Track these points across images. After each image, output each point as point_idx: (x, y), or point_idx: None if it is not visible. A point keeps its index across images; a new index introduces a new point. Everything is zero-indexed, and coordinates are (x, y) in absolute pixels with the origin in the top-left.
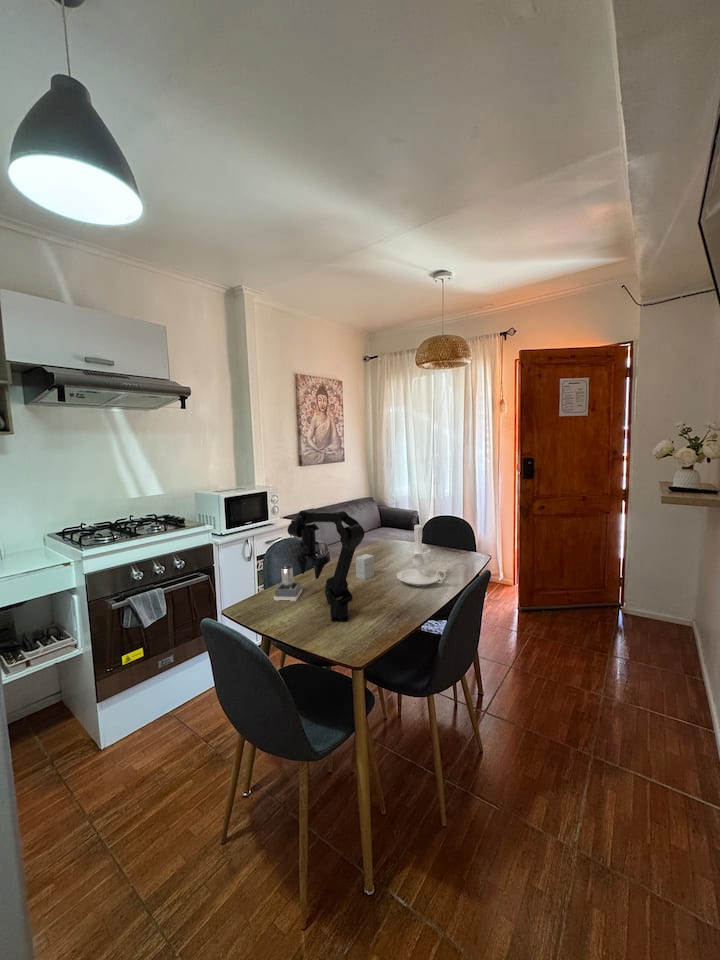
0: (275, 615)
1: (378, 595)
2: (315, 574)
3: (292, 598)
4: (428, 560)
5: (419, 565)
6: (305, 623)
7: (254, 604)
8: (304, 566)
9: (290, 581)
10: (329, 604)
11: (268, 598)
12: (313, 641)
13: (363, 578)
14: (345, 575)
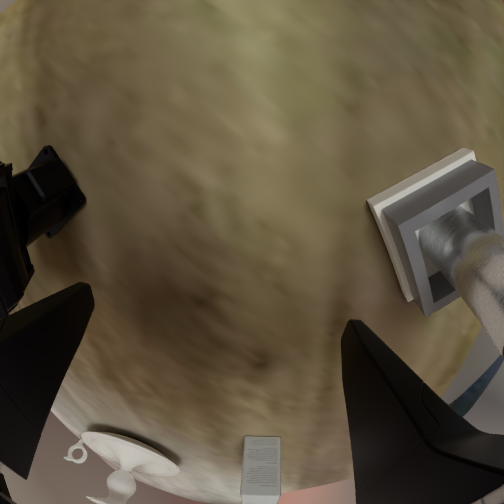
0: (323, 6)
1: (122, 384)
2: (42, 307)
3: (389, 194)
4: (209, 491)
5: (110, 476)
6: (115, 47)
7: (494, 75)
8: (356, 412)
9: (461, 263)
10: (4, 164)
11: (490, 155)
12: (18, 18)
13: (249, 439)
14: None
